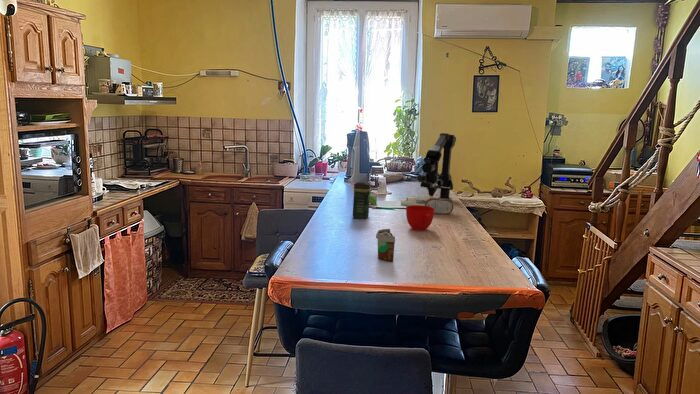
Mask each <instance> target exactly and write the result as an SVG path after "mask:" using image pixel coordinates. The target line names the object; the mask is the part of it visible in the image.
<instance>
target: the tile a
mask: <svg viewBox="0 0 700 394" xmlns="http://www.w3.org/2000/svg"><path fill="white" fill-rule="evenodd" d="M415 197H416V196H415ZM415 197H411V196H408V197H407V198H408V202H412V203H416V198H415Z"/></svg>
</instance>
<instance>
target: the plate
mask: <svg viewBox="0 0 700 394" xmlns="http://www.w3.org/2000/svg"><path fill="white" fill-rule="evenodd" d="M410 197H415V198H416V201H419V203H420V202H422V203H423V202H426V201H425V200H424V197H423V196H422V197H421V196H415V195H412V196H410ZM406 199H408V197H406ZM417 203H418V202H417ZM420 204H421V203H420Z"/></svg>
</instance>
